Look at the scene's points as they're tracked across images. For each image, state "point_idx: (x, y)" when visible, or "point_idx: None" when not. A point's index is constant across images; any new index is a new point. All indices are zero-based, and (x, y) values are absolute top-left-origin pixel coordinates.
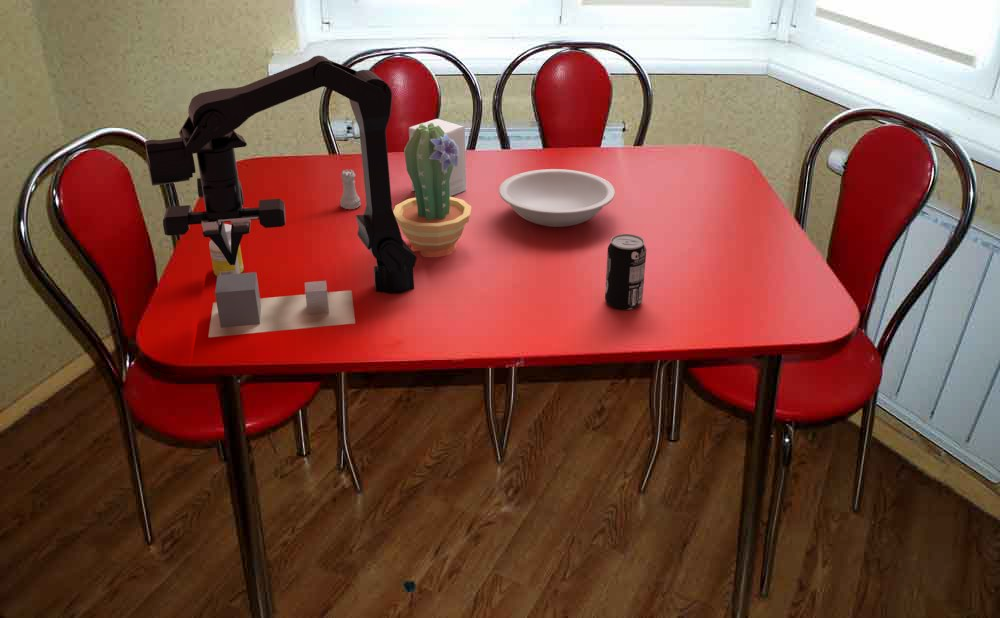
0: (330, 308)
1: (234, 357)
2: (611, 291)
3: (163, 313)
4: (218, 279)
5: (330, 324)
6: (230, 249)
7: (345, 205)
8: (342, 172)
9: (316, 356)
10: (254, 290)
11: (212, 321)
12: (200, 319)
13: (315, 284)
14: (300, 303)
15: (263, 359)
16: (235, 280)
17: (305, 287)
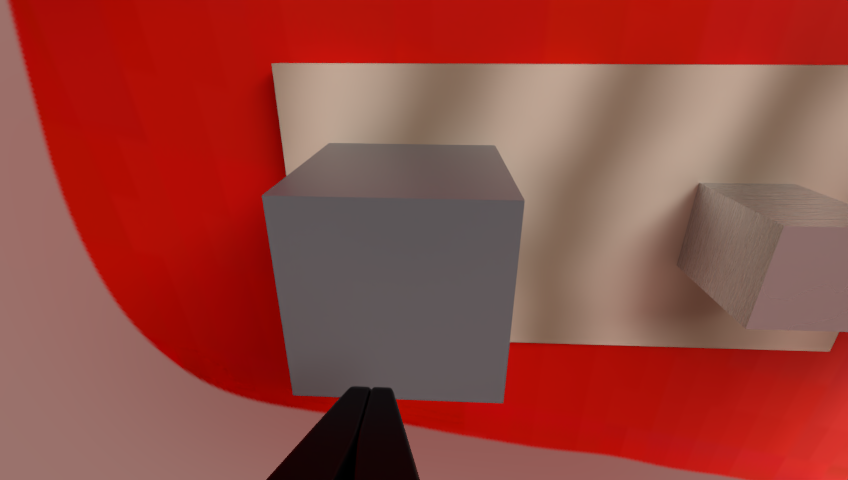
0: None
1: (402, 409)
2: None
3: (70, 71)
4: (280, 255)
5: (738, 342)
6: (337, 477)
7: None
8: None
9: (634, 448)
10: (499, 400)
11: None
12: (246, 159)
13: (832, 260)
14: (673, 158)
15: (484, 433)
16: (389, 287)
17: (765, 283)
